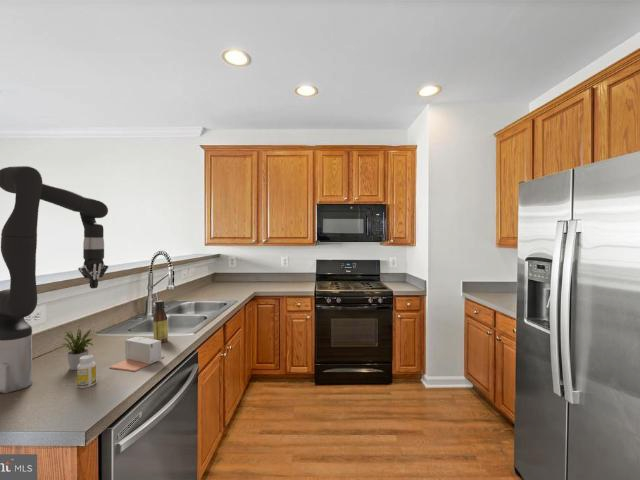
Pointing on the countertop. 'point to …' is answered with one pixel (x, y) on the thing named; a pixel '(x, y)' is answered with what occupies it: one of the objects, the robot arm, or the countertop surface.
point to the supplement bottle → (86, 372)
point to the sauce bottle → (160, 322)
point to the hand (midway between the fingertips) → (93, 288)
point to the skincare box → (143, 350)
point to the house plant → (76, 348)
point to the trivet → (130, 365)
